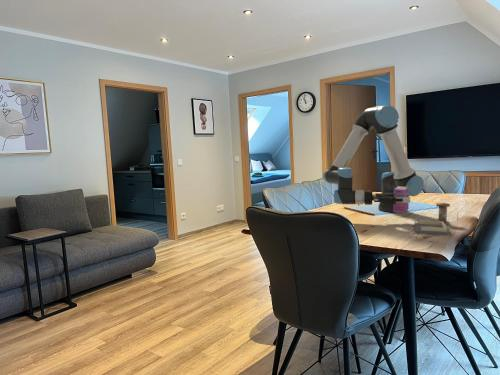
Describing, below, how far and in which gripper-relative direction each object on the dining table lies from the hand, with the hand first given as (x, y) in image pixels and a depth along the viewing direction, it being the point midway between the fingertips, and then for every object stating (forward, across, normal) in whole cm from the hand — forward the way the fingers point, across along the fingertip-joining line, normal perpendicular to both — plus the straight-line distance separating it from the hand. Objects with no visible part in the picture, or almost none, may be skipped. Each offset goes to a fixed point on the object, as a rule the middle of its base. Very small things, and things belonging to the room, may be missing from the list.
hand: (409, 198), depth 184 cm
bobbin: (+15, -3, -13) cm, 20 cm away
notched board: (+9, +12, -13) cm, 20 cm away
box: (-4, 0, -7) cm, 8 cm away
